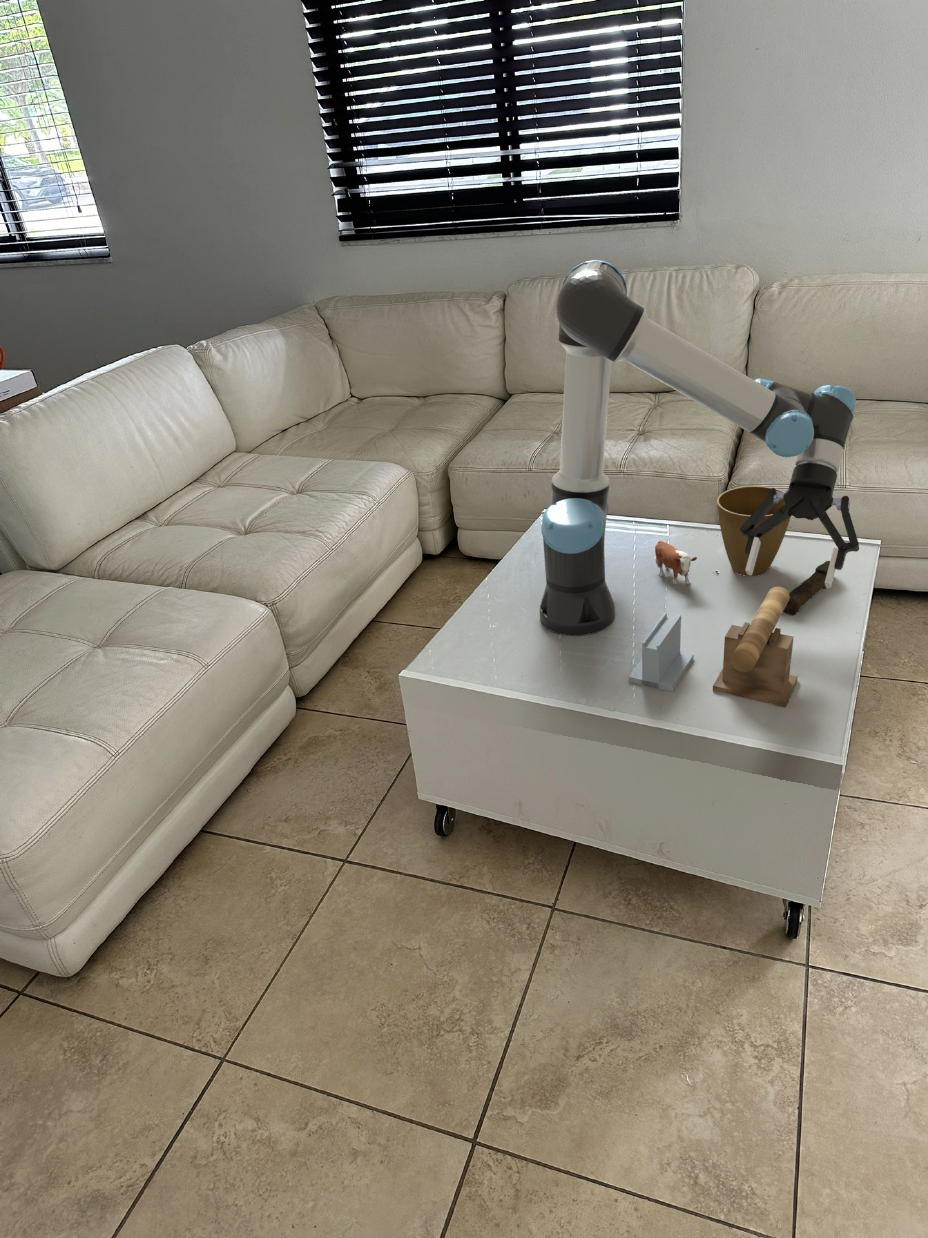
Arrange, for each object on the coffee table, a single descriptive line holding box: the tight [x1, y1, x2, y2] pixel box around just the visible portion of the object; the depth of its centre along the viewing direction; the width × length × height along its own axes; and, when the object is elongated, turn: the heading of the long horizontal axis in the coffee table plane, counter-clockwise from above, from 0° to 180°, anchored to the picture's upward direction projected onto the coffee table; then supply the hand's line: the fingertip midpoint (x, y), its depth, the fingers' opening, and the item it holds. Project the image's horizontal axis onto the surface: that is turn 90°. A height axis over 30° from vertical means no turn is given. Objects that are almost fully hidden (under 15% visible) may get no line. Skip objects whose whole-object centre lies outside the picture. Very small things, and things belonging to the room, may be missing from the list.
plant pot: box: [716, 485, 791, 577], centre depth 169 cm, size 15×15×16 cm
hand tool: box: [782, 560, 830, 616], centre depth 160 cm, size 19×4×5 cm, turn 131°
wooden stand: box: [712, 621, 798, 708], centre depth 136 cm, size 12×8×11 cm, turn 58°
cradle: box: [628, 611, 695, 693], centre depth 143 cm, size 8×11×9 cm
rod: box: [731, 586, 790, 672], centre depth 132 cm, size 22×4×4 cm, turn 148°
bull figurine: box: [654, 540, 698, 586], centre depth 171 cm, size 4×13×8 cm, turn 16°
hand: (787, 579), depth 145 cm, fingers open, 13 cm apart
